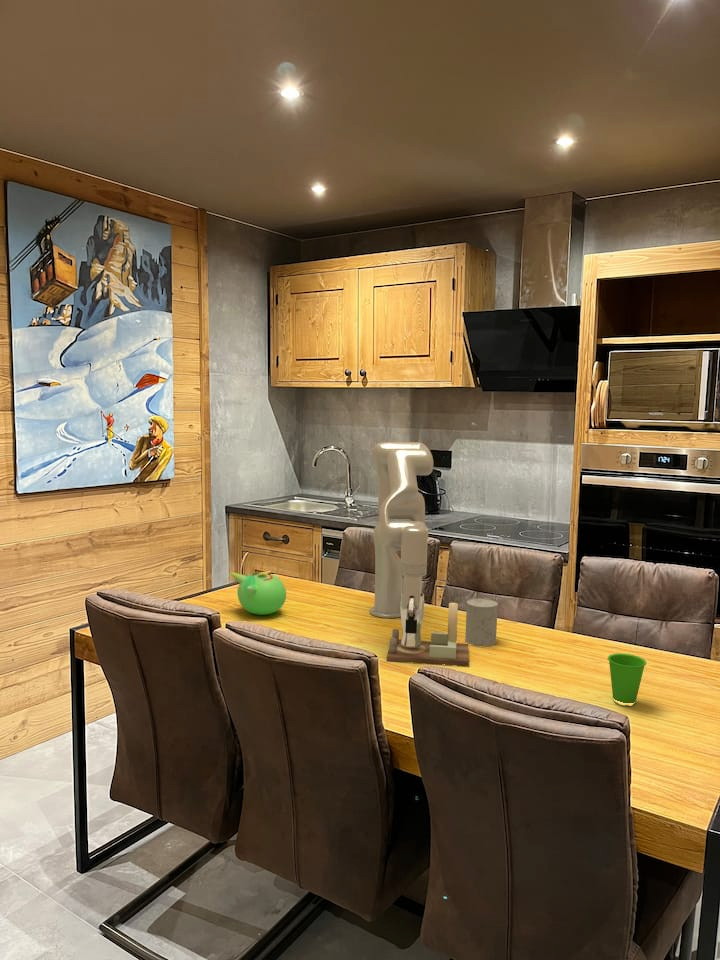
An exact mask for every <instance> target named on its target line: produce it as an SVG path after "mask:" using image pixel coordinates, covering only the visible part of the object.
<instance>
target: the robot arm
mask: <svg viewBox="0 0 720 960" xmlns="http://www.w3.org/2000/svg"><path fill="white" fill-rule="evenodd" d="M372 459H373V463H374V467H375V470H376V474H377V477H378V489H377V490H378V491H377V492H378V494H377V497H378V499H377V501H378V502H377V505H378V506H377V508H378V524H377V525H376V526H374V529H373V532H372V535H373V543H374V553H375V554H374V555H375V556H374V557H375V561H374V562H375V564H374V565H375V567H374V569H375V570H374V606H372V607H370V608H369V614H371V615H372V616H374V617H378V618H384V619H394V618H401V614H400V604H401V594H402V593H403V599H402V609H403V610H404V609H406V608H407V617H406V628H405V632H406V633H412V634H416V633H417V620H416V611H417V610H418V609H419V605H420V597H421V593H422V589H423V587H422V586H423V577H425V576H426V575H427V571H428V570H427V565H428V543H429V542H428V541H429V540H428V539H429V528H428V526H427V525H426V522H425V521H426V502H425V498H424V496H423V494H422V493H421V492H419V489H418V488H419V487H418V481H417V476H429V475H430V474H432V472H433V470H434V459H433V454H432V452H431V450H430V449H429V448H428V447H427V445H426V444H424V443H423V442H419V441H418V442H417V441H415V442H414V441H413V442H412V441H383V442H379V443H376V444H375V445H374V446H373V450H372ZM399 551H400V556H399V555H398V554H397V553H396V552H399ZM408 603H409V609H408ZM414 606H415V609H413V607H414ZM413 611H415V612H414V613H413Z"/></svg>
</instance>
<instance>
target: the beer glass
mask: <svg viewBox="0 0 720 960" xmlns="http://www.w3.org/2000/svg"><path fill="white" fill-rule="evenodd" d="M402 599H403V592H402V594H401V604H400V614H401V617H400V621H401V627H402V629H401V631H402V633H401V634H402V636H401V639H400V640H401V645H403V646H405V647H411V648H414V647H419V646H421V645H422V642H421V641H422V636H421V633H422V626H423V621H424V616H425V594H424V593H423V592H421V597H420V605H419V609H418V610H417V611H416V620H417V633H416V634H412V633H406V632H405V628H406V617H407V608H406V609H404V610H403V609H402ZM408 609H409V603H408ZM413 609H415V606H414V607H413ZM414 612H415V611H413V613H414Z"/></svg>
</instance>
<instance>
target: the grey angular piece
mask: <svg viewBox="0 0 720 960" xmlns="http://www.w3.org/2000/svg"><path fill="white" fill-rule="evenodd" d="M458 610H459V604H458V603H457V602H449V603H448V618H447V619H448V622H447V632H441V631H440V632H439V631H431V633H430V641H431V644H442V645H430V654H429V657H432V658H448V659H456V643H457V641H458V640H457V639H458V615H459V614H458V613H459V612H458ZM443 645H448V646H443Z"/></svg>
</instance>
